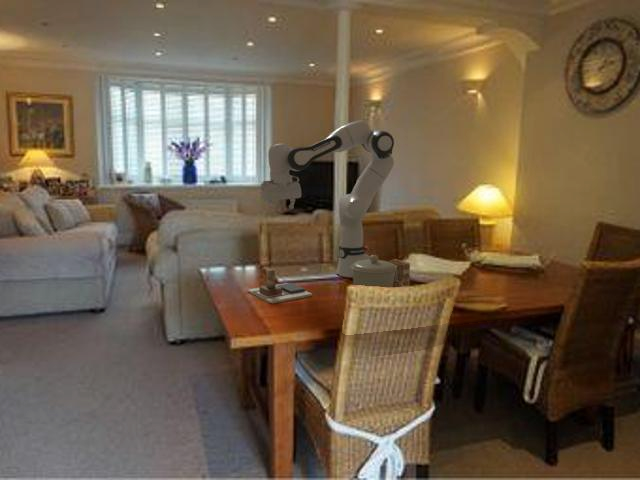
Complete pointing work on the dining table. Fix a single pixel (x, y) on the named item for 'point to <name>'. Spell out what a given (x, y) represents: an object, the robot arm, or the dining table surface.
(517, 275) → the dining table surface
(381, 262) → the canister
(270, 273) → the stamp
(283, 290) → the stamp board
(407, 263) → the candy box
